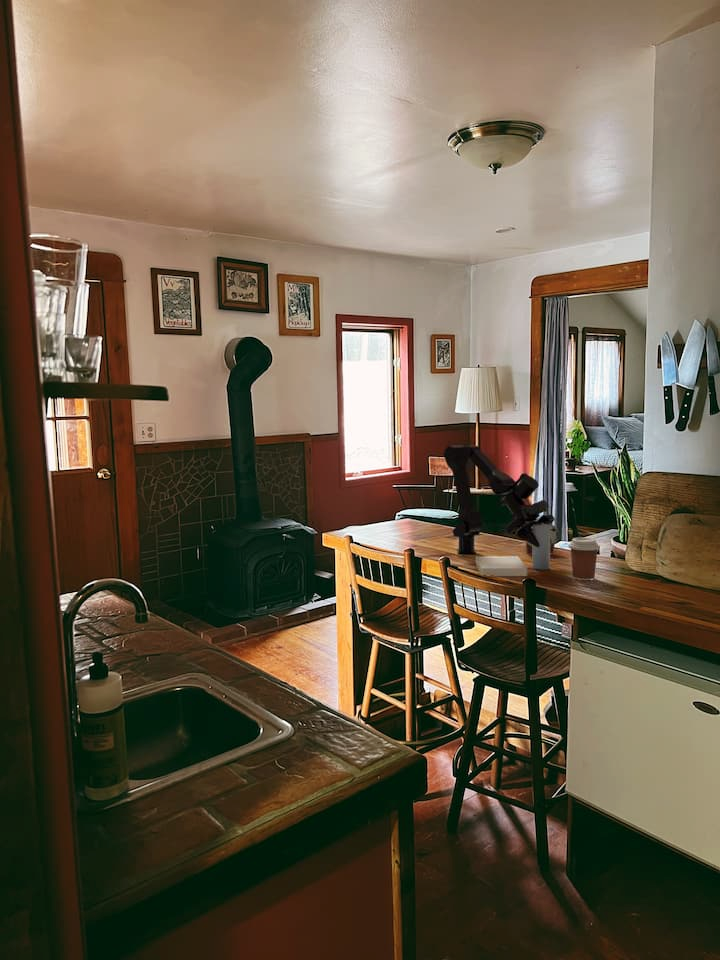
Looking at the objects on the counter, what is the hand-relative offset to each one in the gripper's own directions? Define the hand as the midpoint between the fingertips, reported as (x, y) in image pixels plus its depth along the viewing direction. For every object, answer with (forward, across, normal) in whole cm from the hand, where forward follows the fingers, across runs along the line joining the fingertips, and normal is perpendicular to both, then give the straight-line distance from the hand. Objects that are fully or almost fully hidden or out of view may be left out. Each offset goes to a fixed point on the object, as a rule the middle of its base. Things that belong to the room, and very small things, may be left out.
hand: (544, 545), depth 228 cm
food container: (-8, +20, +19) cm, 28 cm away
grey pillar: (+4, 0, +6) cm, 8 cm away
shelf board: (0, -12, +12) cm, 16 cm away
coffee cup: (+17, -1, -6) cm, 18 cm away
